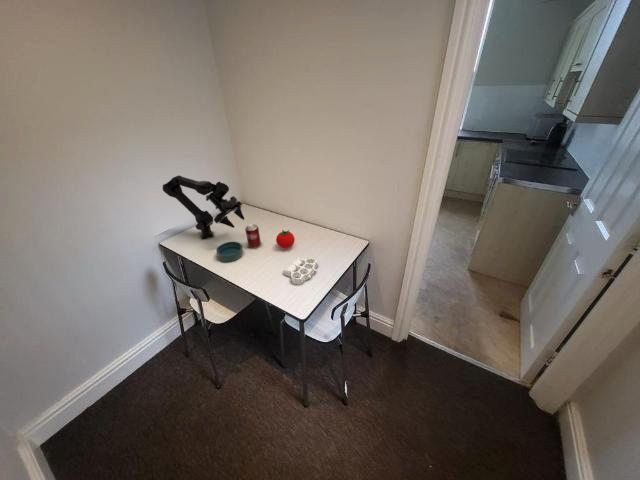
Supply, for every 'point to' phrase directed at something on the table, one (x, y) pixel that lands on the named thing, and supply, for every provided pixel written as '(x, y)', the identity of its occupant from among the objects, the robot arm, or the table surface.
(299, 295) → the table surface
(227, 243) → the bowl
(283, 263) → the table surface
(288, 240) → the tomato
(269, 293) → the table surface
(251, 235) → the soda can
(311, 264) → the white muffin tray
